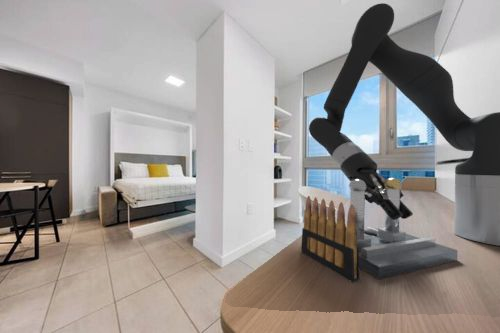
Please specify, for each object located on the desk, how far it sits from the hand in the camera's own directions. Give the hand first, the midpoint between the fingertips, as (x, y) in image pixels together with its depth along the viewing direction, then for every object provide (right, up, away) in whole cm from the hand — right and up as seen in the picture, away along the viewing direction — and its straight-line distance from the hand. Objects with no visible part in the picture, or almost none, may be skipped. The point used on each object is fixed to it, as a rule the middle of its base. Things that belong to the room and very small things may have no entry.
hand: (403, 217), depth 35 cm
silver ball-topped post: (-11, -6, +1) cm, 13 cm away
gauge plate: (-3, -8, +1) cm, 9 cm away
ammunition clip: (-18, -8, -4) cm, 20 cm away
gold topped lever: (-1, -6, +4) cm, 7 cm away
